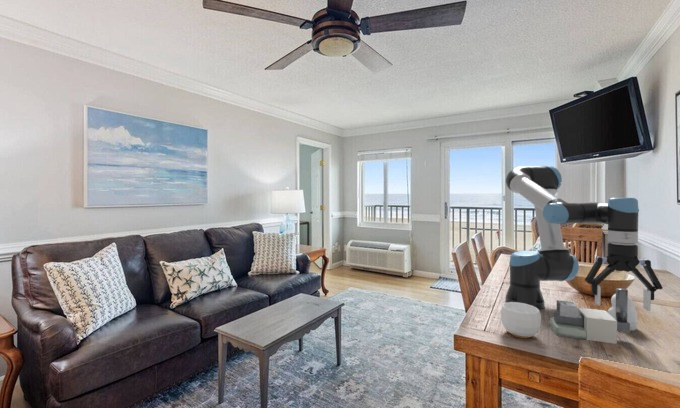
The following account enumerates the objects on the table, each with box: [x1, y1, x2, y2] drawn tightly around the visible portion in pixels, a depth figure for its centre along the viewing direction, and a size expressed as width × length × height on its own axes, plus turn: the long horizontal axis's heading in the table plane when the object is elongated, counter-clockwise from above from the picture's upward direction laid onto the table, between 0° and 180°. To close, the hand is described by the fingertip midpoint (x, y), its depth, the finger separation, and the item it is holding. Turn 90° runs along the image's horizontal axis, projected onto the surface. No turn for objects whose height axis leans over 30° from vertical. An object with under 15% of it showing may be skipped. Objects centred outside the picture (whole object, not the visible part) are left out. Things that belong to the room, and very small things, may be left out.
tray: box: [549, 316, 586, 341], centre depth 110 cm, size 8×10×3 cm
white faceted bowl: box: [500, 302, 542, 339], centre depth 108 cm, size 12×12×10 cm
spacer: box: [556, 300, 578, 318], centre depth 110 cm, size 5×5×4 cm
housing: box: [577, 307, 618, 345], centre depth 107 cm, size 8×10×8 cm
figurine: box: [607, 293, 638, 331], centre depth 114 cm, size 7×8×12 cm
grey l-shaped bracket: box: [553, 287, 631, 334], centre depth 107 cm, size 20×3×14 cm, turn 67°
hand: (621, 306), depth 104 cm, fingers open, 12 cm apart
